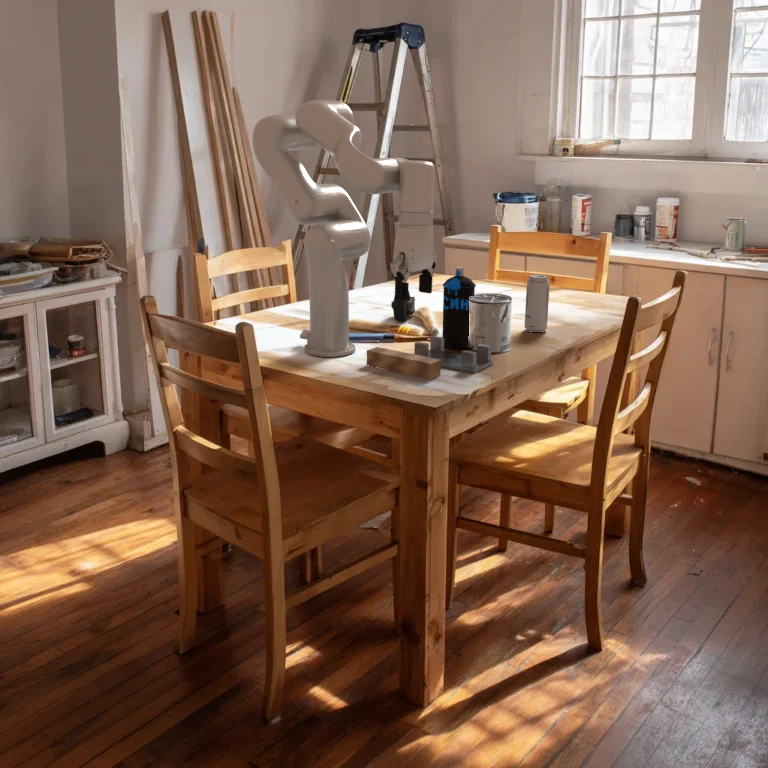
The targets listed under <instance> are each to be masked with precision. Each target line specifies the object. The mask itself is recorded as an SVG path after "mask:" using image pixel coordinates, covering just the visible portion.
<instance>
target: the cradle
mask: <svg viewBox="0 0 768 768" xmlns="http://www.w3.org/2000/svg"><path fill="white" fill-rule="evenodd" d="M429 342H430V346H429V343H426V342H421V341H417V342H414V354H415V355H420V356H425V357H430V358H435V359H440V360H441V368H444V369H450V370H455V371H460V372H461V371H462V372H465V373H470V374H475V373H478V372H480V371H483V370H485V369H486V368H489V367H490V366H493V365H494V360H493V359H492V345H489V344H482V343H479V344H477V345H476V351H471V350H467V349H466V350H461V354H460V353H455V352H449V351H445V348H444V338H443V337H442V336H437V335H432V336H430V341H429ZM429 347H430V349H429Z"/></svg>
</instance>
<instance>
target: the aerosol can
mask: <svg viewBox="0 0 768 768" xmlns="http://www.w3.org/2000/svg"><path fill="white" fill-rule="evenodd" d="M464 273H465V271H464V267H461V266H457V267H455V275H454V276H451V277H449V278H448V279H446V280H445V282H443V283H442V286H443V302H442V304H443V305H442V336H441V337H443V338H444V349H448V350H453V351H465V350H466V351H467V350H469V349H468V336H469V297H470V296H474V297H475V293H476V291H475V290H476V286H477V285H476V283H474V281H473V280H472V279H471V278H469V277H466V276H465V275H464ZM470 298H471V297H470Z"/></svg>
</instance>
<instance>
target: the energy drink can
mask: <svg viewBox="0 0 768 768" xmlns="http://www.w3.org/2000/svg"><path fill="white" fill-rule="evenodd" d="M550 284H551V282H550V280H549V278H548V275H546V274H539V273H537V274H530V275H529V277H528V279H527V281H526V291H525V292H526V293H525V311H524V329H525V330H527V331H531V332H542V331H546V330H547V329H548V317H549V300H550V299H549V298H550V286H551V285H550ZM527 331H526V332H527Z"/></svg>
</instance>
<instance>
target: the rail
mask: <svg viewBox="0 0 768 768" xmlns="http://www.w3.org/2000/svg"><path fill="white" fill-rule="evenodd" d="M367 365H369V366H368V367H370V366H373V367H372V368H375V367H378V368H377V369H380V368H383V369H382V370H384V369H386V370H385V371H389V370H391V371H390V372H394V371H395V373H398V372H399V373H398V374H404V375H408V374H409V375H408V376H412V375H413V376H414V377H418V378H422V379H426V378H428V379H427V380H432V378H433V379H435V378H437V376H438V377H440V376H441V372H442V371H441V369H442V367H441V360H440V359H435V358H430V357H425V356H420V355H415V354H413V353H408V352H405V351H399V350H395V349H394V350H393V349H390V348H384V347H380V346H376V347H373V348H370V349H367V350H366V366H367ZM439 375H440V376H439ZM413 376H412V377H413ZM434 377H435V378H434Z"/></svg>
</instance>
